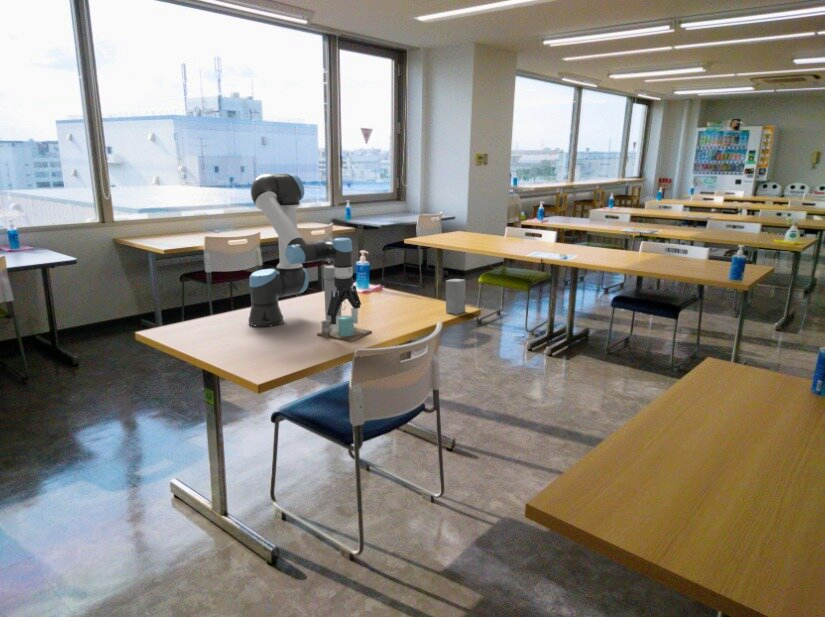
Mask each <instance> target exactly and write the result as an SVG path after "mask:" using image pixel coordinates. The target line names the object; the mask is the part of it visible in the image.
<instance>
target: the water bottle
mask: <svg viewBox="0 0 825 617" xmlns="http://www.w3.org/2000/svg"><path fill="white" fill-rule="evenodd" d="M323 271H324V272H323V278H324V279H323V285H324V286H323V288H324V289H323V290H324V307H325V308H324V312H325V320H329V322H330V323H331V316H328V315H327V313H328V308H329V304H330V300H331V292H332V291H337V288H336V287H335V284H334V278H335V276H334V264H333V265H325V266H324V268H323ZM338 299H339V298H338ZM343 302H346V300H344V301H343ZM345 310H346V307H344V309H343V303H342V304H341V306H340V309H339V311H338V313H337V316H338V317H340V316H342V311H345ZM330 313H331V312H330ZM331 324H332V323H331Z"/></svg>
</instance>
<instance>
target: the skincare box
mask: <svg viewBox="0 0 825 617" xmlns="http://www.w3.org/2000/svg"><path fill="white" fill-rule="evenodd" d="M464 312H466V279H464V278H463V279H461V278H452V279H447V280H445V313H446V314H452V315H457V316H458V315H459V314H462V313H464Z"/></svg>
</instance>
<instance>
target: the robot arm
mask: <svg viewBox="0 0 825 617" xmlns="http://www.w3.org/2000/svg"><path fill="white" fill-rule="evenodd" d="M250 195H251V200H252V202H253V204H254V206H255V207H256V208H257V209H259V210H261V211H262V213H263V215H264V216H265V217H266V219H267V220H268V222H269V223H270V225H271V226H272V228H273V229H274V231H275V233H276V234H277V235H278V236H277V238H278V241H277V242H278V253H279V254H278V255H279V263H278V264H276V269H274V268H265V269H260V270H259V269H258V270H256V271H253V272H252V273H251V274H250V275H249V284H248V286H249V291H250V292H249V293H250V303H251V307H250V311H249V317H248V324H249V323H250V324H252V325H256V326H269V327H271V326H270V325H275V326H277V325H276V324H279V323H281V322H283V323H284V316H283V314H282V311H281V308H280V306H279V298H284V297H289V296H293V295H294V296H296V295H299V294H301V293H304V292H305V291H306V290H307V288H308V286H309V281H310V280H309V278H310V277H309V274H308V271H307V269H306V268H304V266H303V264H305V263H314V262H319V261H333V265H334V276H335V278H334V284H335V287H336V288H337V291H332V292H331V300H330V304H329V308H328V313H327V315H328V316H331V327H332V331H333V332H339V327H338V316H337V313H338V311H339V309H340V306H341V304H342V305H343V302H345V301H346V300H348V302H349V304H350V306H351V307H350V310H351V315H350V316H352V317H353V323H354V324H356V325H358V324H359V309H360V308H361V306H362V302H361V300H360V297H359V294H358V291H357V285H354V278H353V275H354V274H353V273H354V272H353V271H354V270H353V264H354V263H353V244H352V239H351V238H349V237H336V238H334V239H333V240H332V241H329V240H327V239H319V240H318V241H316V242H306V241H305V239H304V238H303V237H302V235H301V234H300V232H299V230H298V218H297V217H298V216H297V208H299V206H300V201H301V200H303V198H304V196H305V186H304V184H303V181H302V179H301V178H300V177H299V176H298V175H297V174H294V173H271V174H270V173H264V174H261V175H259V176H258V177H256V179H255V180H254V181H253V182H252V184H251V188H250ZM338 298H339V299H338ZM344 300H345V301H344ZM330 312H331V313H330ZM281 324H282V323H281ZM279 325H280V324H279Z"/></svg>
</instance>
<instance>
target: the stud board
mask: <svg viewBox="0 0 825 617" xmlns="http://www.w3.org/2000/svg"><path fill="white" fill-rule="evenodd" d="M372 332H373V331H372V330H368V329H363V328H357V327H354V335H352V336H339V335H338V332H333V331H332V326H330V322H329V320H326V319H325V320H324V319H323V320H321V331H320V332H317V333H316V335H317V336H318V335H319V337H325V338H330V339H337V340H341V341H348V342H351V343H353V342H355V341H357V340H360V339H361V338H363V337H365V336H368V335H370V334H371V333H372Z"/></svg>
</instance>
